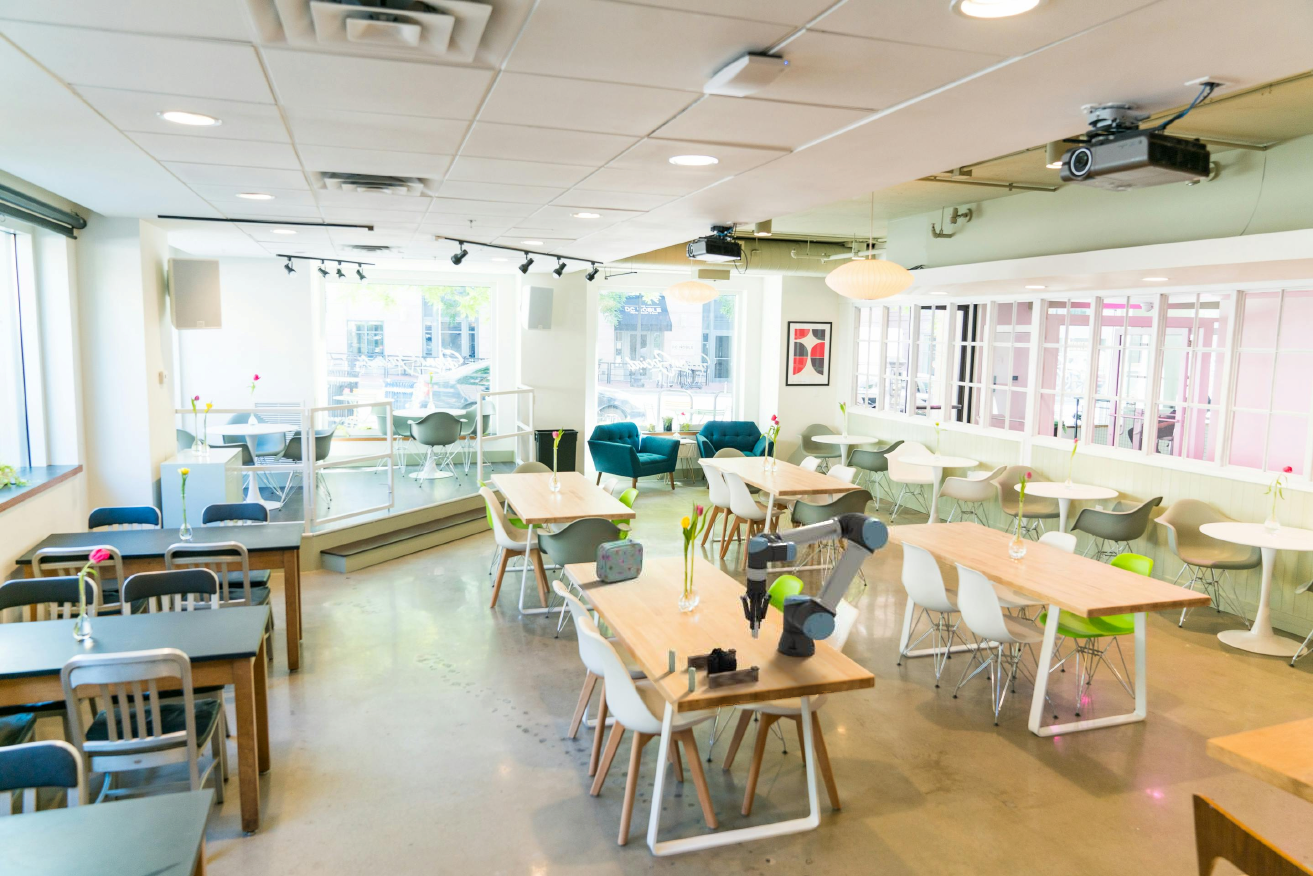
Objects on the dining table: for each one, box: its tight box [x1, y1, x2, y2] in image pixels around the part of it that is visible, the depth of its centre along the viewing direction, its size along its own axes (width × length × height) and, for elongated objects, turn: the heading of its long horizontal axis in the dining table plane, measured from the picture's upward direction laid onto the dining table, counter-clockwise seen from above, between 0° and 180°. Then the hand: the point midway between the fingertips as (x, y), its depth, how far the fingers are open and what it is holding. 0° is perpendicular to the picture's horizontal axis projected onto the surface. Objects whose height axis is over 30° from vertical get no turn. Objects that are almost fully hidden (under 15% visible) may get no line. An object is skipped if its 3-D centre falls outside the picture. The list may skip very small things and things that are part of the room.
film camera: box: [706, 647, 738, 679], centre depth 318 cm, size 15×10×9 cm, turn 158°
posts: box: [668, 649, 696, 692], centre depth 310 cm, size 2×21×8 cm, turn 22°
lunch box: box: [595, 538, 644, 584], centre depth 443 cm, size 27×10×21 cm, turn 130°
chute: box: [687, 648, 760, 689], centre depth 317 cm, size 20×21×5 cm
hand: (754, 637), depth 321 cm, fingers closed
